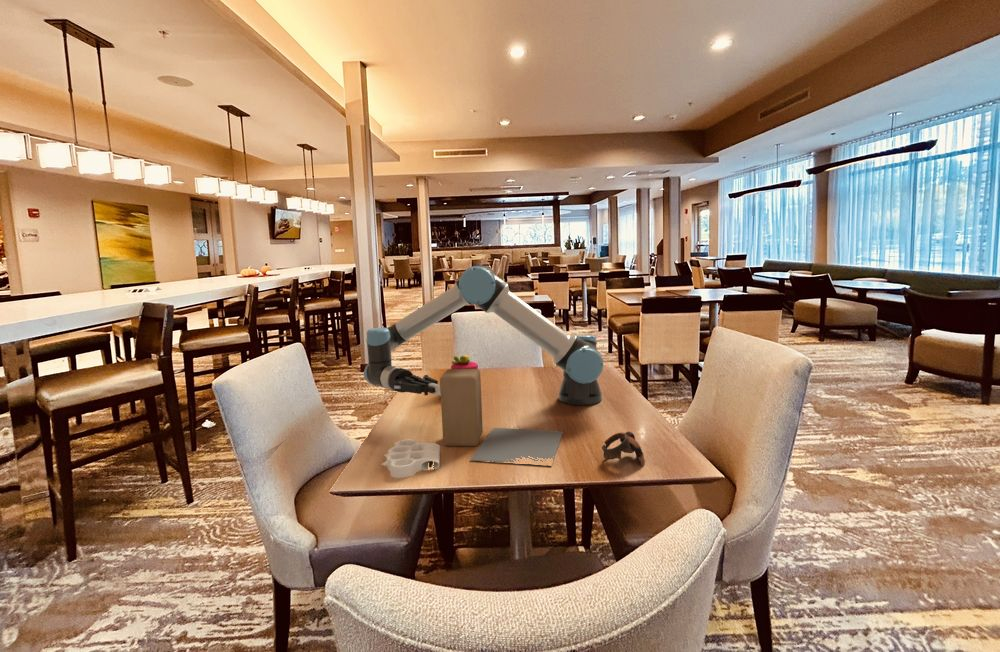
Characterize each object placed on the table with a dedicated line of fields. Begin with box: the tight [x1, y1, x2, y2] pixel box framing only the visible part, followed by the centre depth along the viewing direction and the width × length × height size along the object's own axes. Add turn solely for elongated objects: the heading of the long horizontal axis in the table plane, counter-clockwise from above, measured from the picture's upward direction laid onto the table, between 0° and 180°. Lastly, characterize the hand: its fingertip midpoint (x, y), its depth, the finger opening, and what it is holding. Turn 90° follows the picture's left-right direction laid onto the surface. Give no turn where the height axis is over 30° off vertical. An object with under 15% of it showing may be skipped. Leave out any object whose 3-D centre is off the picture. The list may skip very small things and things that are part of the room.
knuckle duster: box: [380, 438, 441, 479], centre depth 131 cm, size 3×18×15 cm
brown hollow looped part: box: [601, 431, 646, 467], centre depth 128 cm, size 12×10×8 cm
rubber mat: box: [470, 427, 564, 462], centre depth 139 cm, size 21×24×1 cm
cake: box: [450, 354, 479, 370], centre depth 194 cm, size 10×11×15 cm
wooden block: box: [439, 368, 484, 447], centre depth 143 cm, size 10×10×20 cm
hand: (444, 391), depth 147 cm, fingers closed
